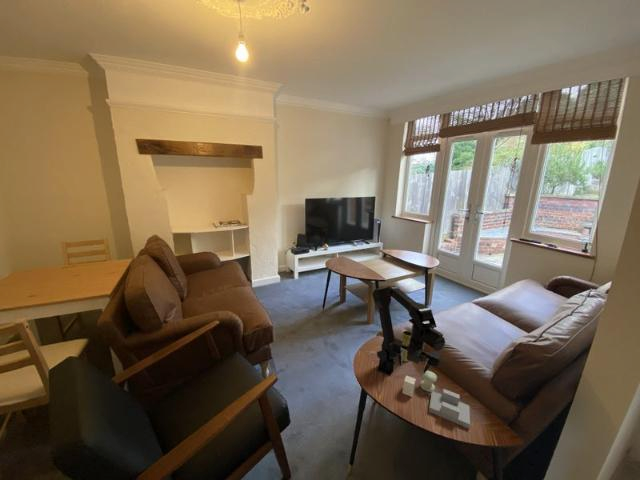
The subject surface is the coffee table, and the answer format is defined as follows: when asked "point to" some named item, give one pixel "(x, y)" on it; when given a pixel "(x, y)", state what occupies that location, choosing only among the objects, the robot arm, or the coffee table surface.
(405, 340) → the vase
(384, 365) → the robot arm
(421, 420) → the coffee table surface
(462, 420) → the notch board
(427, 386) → the spool
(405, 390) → the block
